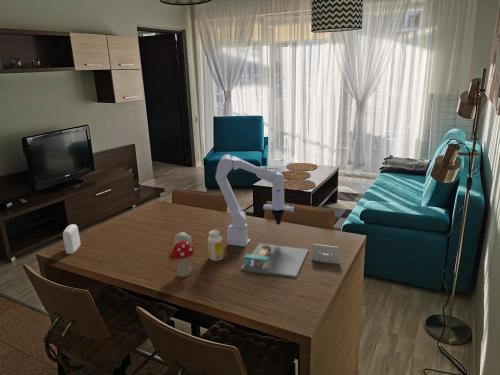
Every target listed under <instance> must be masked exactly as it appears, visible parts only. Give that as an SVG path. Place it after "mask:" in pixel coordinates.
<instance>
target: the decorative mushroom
mask: <svg viewBox="0 0 500 375" xmlns="http://www.w3.org/2000/svg"><path fill="white" fill-rule="evenodd" d="M174 244H175V243H174ZM194 252H195V250H194V248H193V246H192V243H191V244H190V243H189V242H188V241H179V242H178V243H176V244H175V246H174V248H173V247H172V250H171V254H170V255H171V257H172V258H173V259H175V260H178V265H177V266H178V267H177V271H176V274H177V277H179V278H185V277H188V276H190V275H192V270H193V269H192V266H191V265H190V261H189V258H188V257H191V256H192V255H193V254H194Z"/></svg>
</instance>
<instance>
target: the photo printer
mask: <svg viewBox="0 0 500 375" xmlns="http://www.w3.org/2000/svg"><path fill="white" fill-rule="evenodd" d="M62 238H63V243H64V249H65V253H66V254H68V255H72V254H74V253H75V252H76V251H77V250H78V249H79V248H80V247H81V244H82V243H81V238H80V232H79V227H78V226H77V224H69V225H67V226H66V228H65V229H64V230H63V232H62Z"/></svg>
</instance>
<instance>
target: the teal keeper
mask: <svg viewBox="0 0 500 375" xmlns="http://www.w3.org/2000/svg"><path fill="white" fill-rule="evenodd" d="M243 258H244V261H243V262H244V263H243V265H244V264H245V265H250V263H251V260H256V261H264V262H268V261H269V259H270V257H268V256H260V255H253V254H252V253H246V254H245V255H244V257H243Z"/></svg>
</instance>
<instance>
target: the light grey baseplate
mask: <svg viewBox="0 0 500 375" xmlns="http://www.w3.org/2000/svg"><path fill="white" fill-rule="evenodd" d="M263 245H270V246H271V253H269V254H268V255H267V256H268V257H270V259H269V261H268V262H263V264H262V265H261V267H254V263H253V262H254V260H251V263H250V265H245V264H244V263H243V264H242V266H241V267H240V270H241V271H244V272H251V273H252V272H253V273H260V274H266V275H271V276H279V277H284V278H293V279H297V277H298V275H299V273H300V270H301V268H302V267H303V264H304V262H305V260H306V257H307V255H308V253H309V249H308V248H299V247H292V246H282V245H275V244H267V243H258V245H257V246H256V247H255V248H254V250H253V252H251V254H253V255H258V254H259V253H260V251H261V249H262V246H263Z"/></svg>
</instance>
